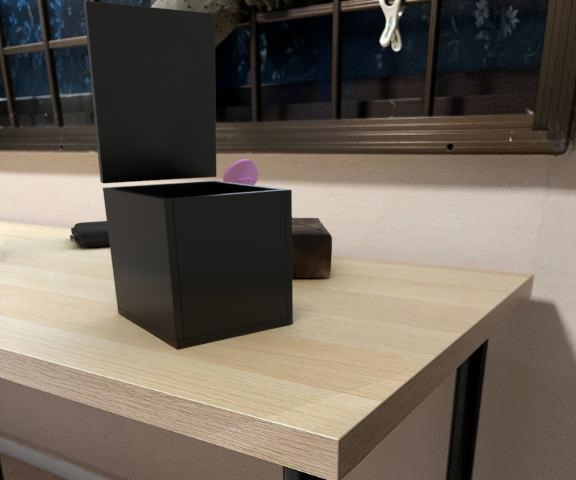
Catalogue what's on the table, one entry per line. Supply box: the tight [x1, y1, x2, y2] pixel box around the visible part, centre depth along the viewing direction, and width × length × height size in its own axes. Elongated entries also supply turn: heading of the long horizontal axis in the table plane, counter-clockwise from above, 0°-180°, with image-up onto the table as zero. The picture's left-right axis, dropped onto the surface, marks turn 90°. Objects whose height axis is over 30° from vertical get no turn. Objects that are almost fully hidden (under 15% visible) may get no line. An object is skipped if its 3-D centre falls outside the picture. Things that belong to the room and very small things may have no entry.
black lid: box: [83, 0, 217, 184], centre depth 66 cm, size 16×14×6 cm
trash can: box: [102, 180, 294, 350], centre depth 65 cm, size 16×14×14 cm
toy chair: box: [222, 158, 259, 185], centre depth 99 cm, size 8×9×15 cm
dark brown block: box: [292, 217, 333, 279], centre depth 91 cm, size 8×19×7 cm, turn 2°
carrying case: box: [69, 220, 110, 248], centre depth 114 cm, size 11×3×15 cm
